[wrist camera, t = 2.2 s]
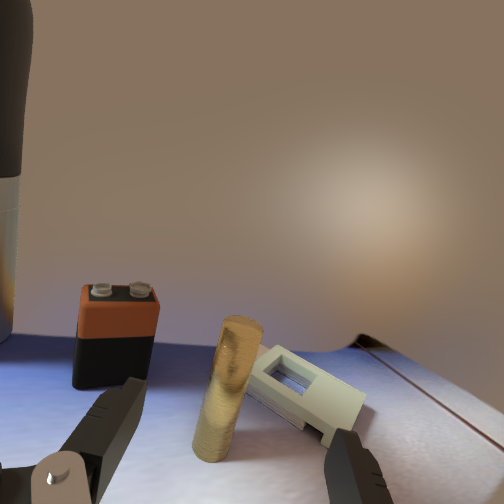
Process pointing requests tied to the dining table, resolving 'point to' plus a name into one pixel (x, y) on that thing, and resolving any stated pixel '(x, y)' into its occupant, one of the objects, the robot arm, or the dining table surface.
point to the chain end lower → (270, 402)
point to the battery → (114, 334)
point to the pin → (226, 387)
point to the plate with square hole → (309, 393)
